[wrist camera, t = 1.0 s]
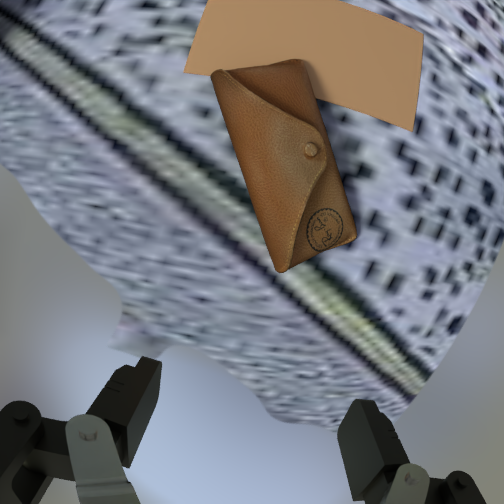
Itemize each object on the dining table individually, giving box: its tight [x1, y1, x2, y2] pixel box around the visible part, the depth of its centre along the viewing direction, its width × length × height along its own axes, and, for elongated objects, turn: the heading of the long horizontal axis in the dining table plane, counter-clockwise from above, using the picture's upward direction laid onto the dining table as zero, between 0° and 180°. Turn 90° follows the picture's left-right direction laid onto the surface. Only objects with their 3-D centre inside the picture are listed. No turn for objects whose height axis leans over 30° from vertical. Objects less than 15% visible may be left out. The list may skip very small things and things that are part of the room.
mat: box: [184, 0, 423, 132], centre depth 23 cm, size 12×22×1 cm, turn 77°
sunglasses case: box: [211, 59, 357, 273], centre depth 24 cm, size 18×7×7 cm
